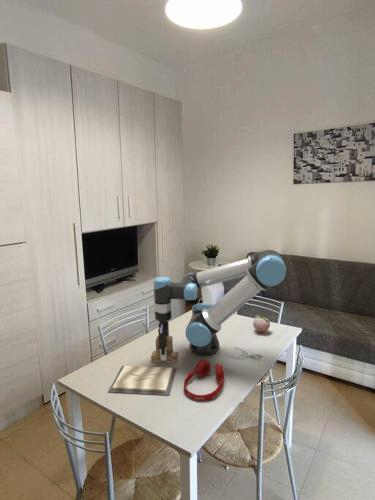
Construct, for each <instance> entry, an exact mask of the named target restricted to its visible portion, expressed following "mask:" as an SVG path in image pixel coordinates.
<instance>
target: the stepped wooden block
mask: <svg viewBox="0 0 375 500" xmlns="http://www.w3.org/2000/svg"><path fill="white" fill-rule="evenodd" d="M173 344H174V343H173V335H169V336H166V353H167V361H162V360H161V355H160V349H159V348H158V347H159V335H157V336H156V339H155V350H153V351H152V352H151V354H150V355H151V356H150V360H151V362H152V363H166V364H167V363H169V364H171V363H173V364H178V360H179V351H174V348H173V347H174V345H173Z"/></svg>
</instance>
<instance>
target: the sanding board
mask: <svg viewBox="0 0 375 500" xmlns="http://www.w3.org/2000/svg"><path fill="white" fill-rule="evenodd" d="M176 371H177V368H176V367H162V366H161V367H160V366H159V367H158V366H157V367H156V366H140V365H139V366H138V365H137V366H135V365H121V367H120V369H119V371H118V373H117V375H116V376H115V378H114V380H113V382H112V384H111V385H110V387H109V388H108V391H107V393H109V394H110V393H111V394H112V393H113V394H128V395H132V394H133V395H147V396H148V395H151V396H166V397H169V396H170V395H171V392H172V387H173V383H174V379H175V375H176Z"/></svg>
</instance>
